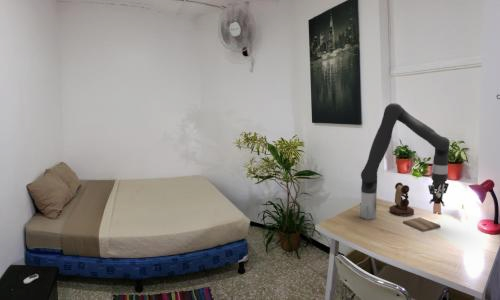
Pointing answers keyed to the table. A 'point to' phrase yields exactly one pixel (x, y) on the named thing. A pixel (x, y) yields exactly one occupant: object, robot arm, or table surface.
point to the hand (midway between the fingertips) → (437, 200)
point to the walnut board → (421, 224)
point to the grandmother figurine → (437, 205)
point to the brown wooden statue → (401, 201)
